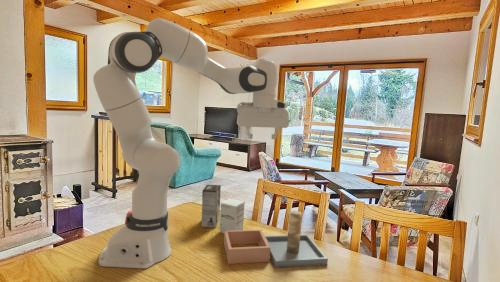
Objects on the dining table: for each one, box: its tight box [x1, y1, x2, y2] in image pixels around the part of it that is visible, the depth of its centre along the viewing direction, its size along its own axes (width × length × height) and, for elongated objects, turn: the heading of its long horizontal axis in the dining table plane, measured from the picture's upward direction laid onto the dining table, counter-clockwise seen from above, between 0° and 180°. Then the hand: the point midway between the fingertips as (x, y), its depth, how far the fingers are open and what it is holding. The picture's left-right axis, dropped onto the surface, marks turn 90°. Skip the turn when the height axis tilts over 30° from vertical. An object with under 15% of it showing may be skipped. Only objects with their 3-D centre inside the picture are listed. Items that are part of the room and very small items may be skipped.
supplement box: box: [219, 198, 245, 234], centre depth 118 cm, size 7×7×13 cm
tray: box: [264, 234, 329, 269], centre depth 104 cm, size 18×18×2 cm
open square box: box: [223, 229, 271, 265], centre depth 103 cm, size 14×14×5 cm
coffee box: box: [201, 184, 222, 229], centre depth 125 cm, size 9×6×16 cm
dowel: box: [287, 210, 303, 254], centre depth 103 cm, size 4×4×14 cm
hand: (262, 138), depth 113 cm, fingers open, 8 cm apart
